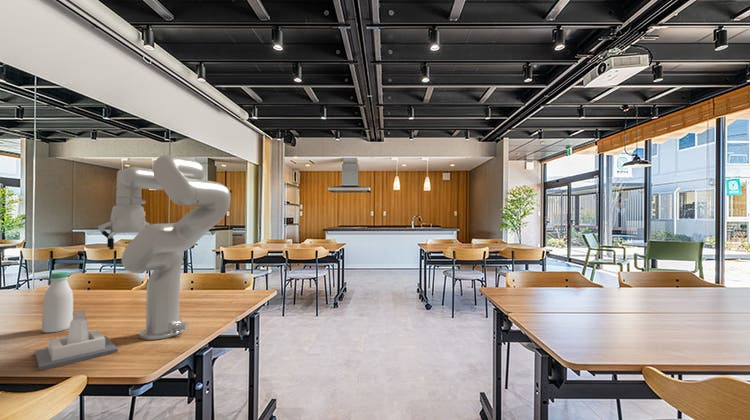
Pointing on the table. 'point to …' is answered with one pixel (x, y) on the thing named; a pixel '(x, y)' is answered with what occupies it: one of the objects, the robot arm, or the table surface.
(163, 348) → the table surface
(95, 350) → the socket
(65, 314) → the milk bottle
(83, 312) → the salt shaker
